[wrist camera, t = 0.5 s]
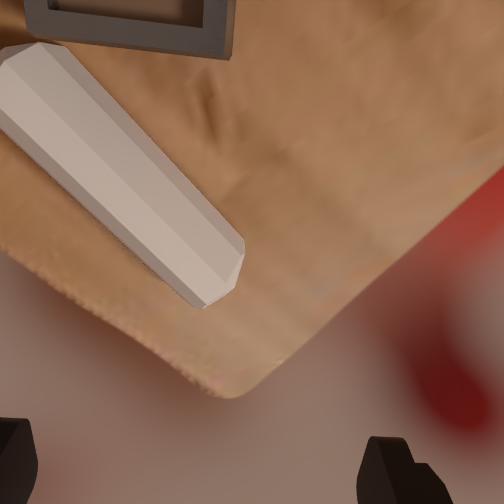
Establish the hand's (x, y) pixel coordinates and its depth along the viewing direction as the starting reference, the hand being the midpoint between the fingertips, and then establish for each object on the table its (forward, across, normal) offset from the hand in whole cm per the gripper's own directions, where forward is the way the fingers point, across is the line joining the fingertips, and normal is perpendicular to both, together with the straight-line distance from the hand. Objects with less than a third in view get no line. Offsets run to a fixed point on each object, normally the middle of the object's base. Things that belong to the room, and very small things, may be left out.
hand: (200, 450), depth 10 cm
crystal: (+28, +8, +3) cm, 29 cm away
